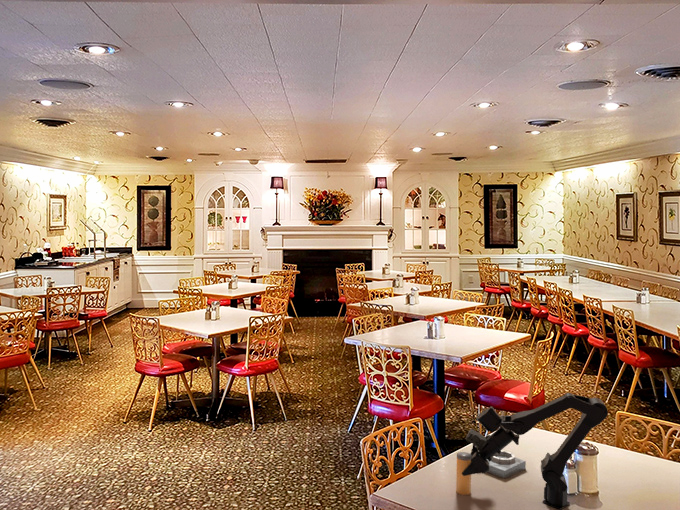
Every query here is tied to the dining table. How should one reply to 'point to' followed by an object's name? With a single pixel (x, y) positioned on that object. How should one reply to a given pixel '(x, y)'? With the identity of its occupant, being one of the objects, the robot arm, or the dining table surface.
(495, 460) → the octagonal ring base plate
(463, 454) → the lidded container
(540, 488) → the dining table surface
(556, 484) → the robot arm
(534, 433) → the dining table surface
